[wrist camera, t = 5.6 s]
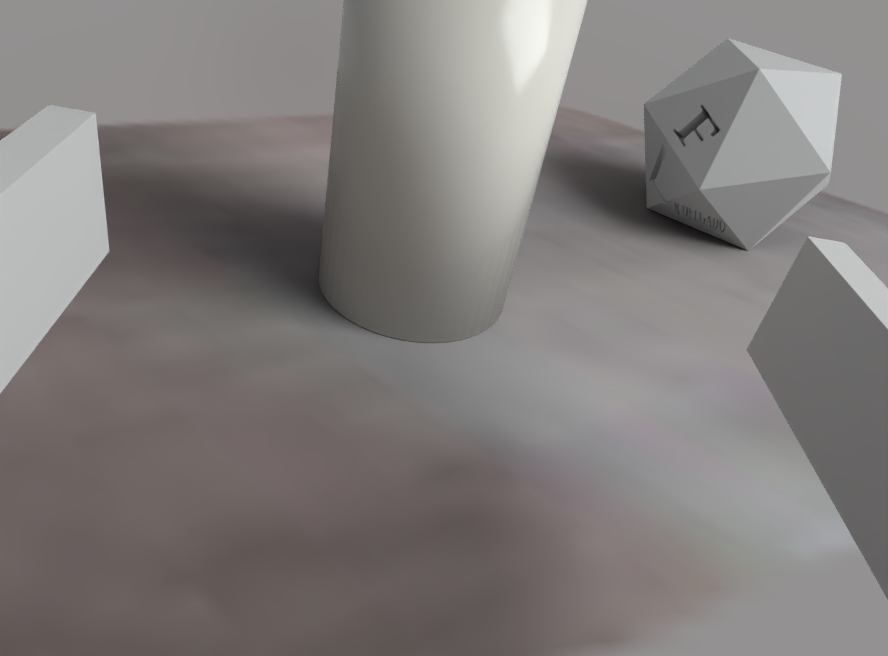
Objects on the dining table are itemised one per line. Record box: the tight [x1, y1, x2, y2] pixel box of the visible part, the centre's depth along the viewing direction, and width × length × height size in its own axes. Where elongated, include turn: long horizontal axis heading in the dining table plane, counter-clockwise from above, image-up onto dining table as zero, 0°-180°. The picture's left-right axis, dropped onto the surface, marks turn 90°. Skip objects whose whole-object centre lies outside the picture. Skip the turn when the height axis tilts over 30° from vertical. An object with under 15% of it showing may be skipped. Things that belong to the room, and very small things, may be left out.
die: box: [644, 38, 842, 251], centre depth 33 cm, size 8×9×10 cm
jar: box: [319, 0, 587, 343], centre depth 22 cm, size 7×7×12 cm
